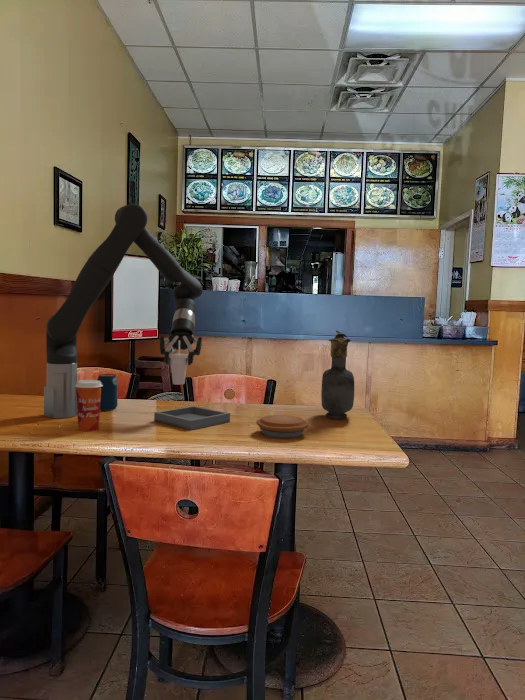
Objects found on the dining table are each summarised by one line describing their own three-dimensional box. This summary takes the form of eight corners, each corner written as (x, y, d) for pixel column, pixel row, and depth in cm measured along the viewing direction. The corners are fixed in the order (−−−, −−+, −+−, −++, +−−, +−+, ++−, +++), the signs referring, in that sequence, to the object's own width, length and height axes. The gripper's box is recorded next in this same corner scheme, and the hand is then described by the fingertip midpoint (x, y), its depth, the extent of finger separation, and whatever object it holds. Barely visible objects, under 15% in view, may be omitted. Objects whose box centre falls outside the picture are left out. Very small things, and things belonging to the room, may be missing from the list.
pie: (272, 426, 165) (272, 410, 165) (316, 433, 157) (317, 416, 157) (245, 435, 152) (246, 418, 151) (293, 443, 144) (293, 425, 143)
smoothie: (190, 382, 172) (191, 340, 170) (186, 385, 165) (186, 341, 164) (171, 382, 172) (171, 339, 171) (166, 385, 166) (166, 341, 165)
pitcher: (321, 420, 174) (325, 331, 172) (319, 410, 193) (322, 329, 191) (354, 422, 174) (358, 332, 171) (348, 411, 193) (352, 330, 190)
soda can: (121, 408, 184) (121, 374, 183) (106, 411, 178) (106, 376, 178) (107, 406, 188) (108, 373, 187) (92, 409, 182) (92, 374, 181)
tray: (190, 430, 155) (191, 420, 155) (154, 421, 166) (154, 412, 166) (229, 421, 168) (230, 413, 168) (193, 413, 179) (193, 405, 179)
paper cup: (76, 432, 148) (76, 383, 147) (72, 426, 155) (73, 380, 154) (105, 430, 152) (105, 382, 150) (100, 425, 158) (100, 379, 157)
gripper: (160, 316, 174) (154, 355, 163) (204, 317, 174) (200, 356, 164) (163, 331, 180) (157, 370, 169) (205, 332, 180) (201, 371, 169)
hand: (178, 363), depth 166 cm, fingers closed on smoothie, 6 cm apart
